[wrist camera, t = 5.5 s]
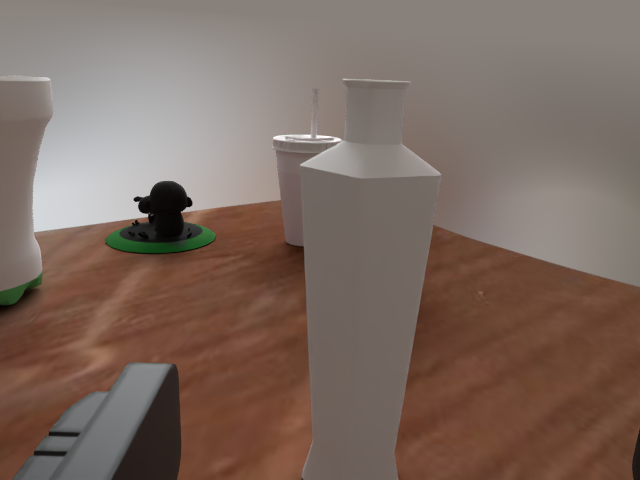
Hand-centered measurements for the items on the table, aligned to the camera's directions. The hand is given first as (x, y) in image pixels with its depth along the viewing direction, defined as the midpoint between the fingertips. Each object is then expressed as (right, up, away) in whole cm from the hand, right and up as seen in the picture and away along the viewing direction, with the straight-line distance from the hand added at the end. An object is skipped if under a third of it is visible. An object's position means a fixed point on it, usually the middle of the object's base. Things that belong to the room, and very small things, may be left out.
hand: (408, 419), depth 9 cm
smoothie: (-3, +3, +43) cm, 44 cm away
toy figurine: (-16, +3, +43) cm, 46 cm away
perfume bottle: (0, -6, +12) cm, 14 cm away
